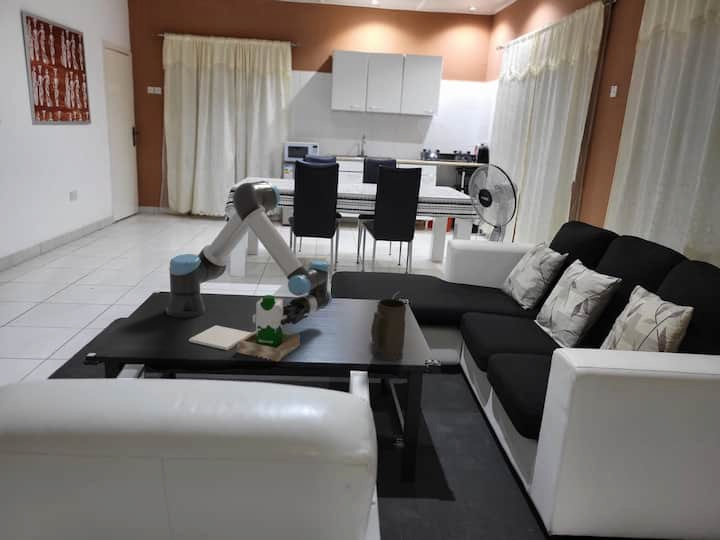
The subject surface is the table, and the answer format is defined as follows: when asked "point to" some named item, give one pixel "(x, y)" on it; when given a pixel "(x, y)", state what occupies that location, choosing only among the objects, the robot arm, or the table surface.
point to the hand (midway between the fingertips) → (263, 321)
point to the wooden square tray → (276, 354)
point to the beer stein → (389, 329)
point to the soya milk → (269, 321)
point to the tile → (219, 337)
